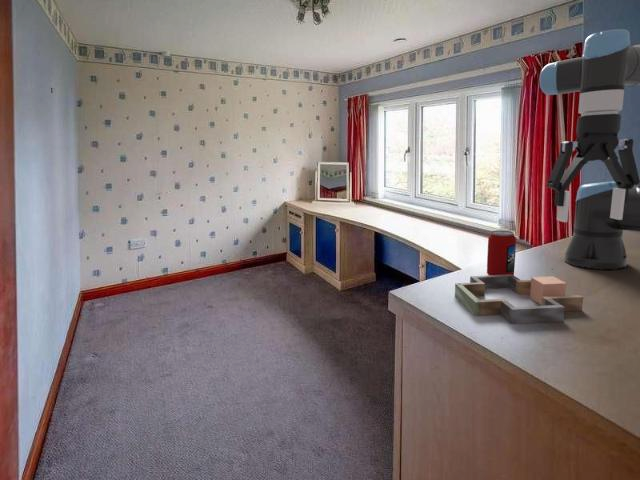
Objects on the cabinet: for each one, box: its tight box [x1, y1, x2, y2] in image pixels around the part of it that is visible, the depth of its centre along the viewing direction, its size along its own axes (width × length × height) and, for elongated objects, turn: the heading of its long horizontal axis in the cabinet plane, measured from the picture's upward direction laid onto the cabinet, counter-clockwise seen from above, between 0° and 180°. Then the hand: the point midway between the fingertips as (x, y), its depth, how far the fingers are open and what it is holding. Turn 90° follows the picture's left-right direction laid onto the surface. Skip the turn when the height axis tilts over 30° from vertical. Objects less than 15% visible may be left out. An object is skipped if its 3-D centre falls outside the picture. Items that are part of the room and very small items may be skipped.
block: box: [529, 275, 567, 306], centre depth 94 cm, size 5×5×5 cm
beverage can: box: [486, 229, 517, 276], centre depth 112 cm, size 7×7×12 cm
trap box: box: [454, 274, 584, 325], centre depth 94 cm, size 23×22×3 cm
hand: (588, 220), depth 91 cm, fingers open, 11 cm apart
